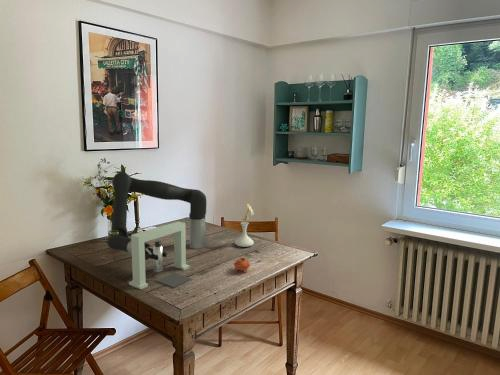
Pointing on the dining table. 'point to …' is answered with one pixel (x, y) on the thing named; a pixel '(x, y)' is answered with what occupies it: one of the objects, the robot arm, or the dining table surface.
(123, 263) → the dining table surface
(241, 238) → the flower in vase
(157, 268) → the plug peg
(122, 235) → the robot arm
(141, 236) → the frame
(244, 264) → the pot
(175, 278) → the rubber mat
